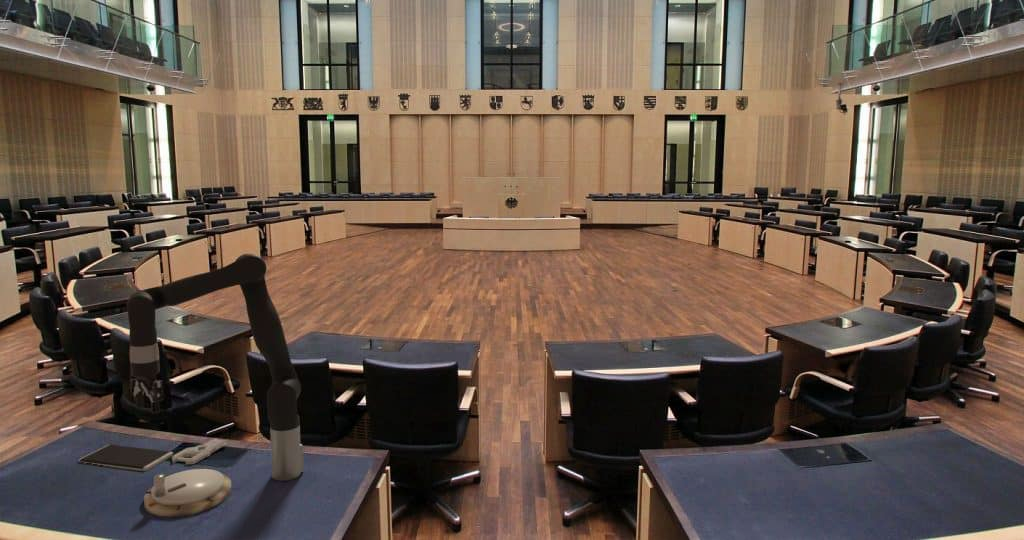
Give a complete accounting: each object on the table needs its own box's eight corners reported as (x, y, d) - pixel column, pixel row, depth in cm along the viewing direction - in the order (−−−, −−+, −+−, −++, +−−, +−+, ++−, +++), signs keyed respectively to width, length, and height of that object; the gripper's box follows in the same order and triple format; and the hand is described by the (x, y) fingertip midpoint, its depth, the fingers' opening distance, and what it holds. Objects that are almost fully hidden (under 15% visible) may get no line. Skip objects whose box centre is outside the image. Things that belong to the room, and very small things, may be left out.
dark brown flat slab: (109, 448, 227) (109, 443, 226) (174, 455, 221) (174, 451, 221) (77, 464, 214) (77, 459, 214) (145, 472, 209) (145, 468, 208)
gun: (208, 433, 232) (229, 438, 228) (209, 442, 232) (230, 447, 229) (166, 456, 215) (189, 461, 211) (167, 465, 215) (189, 470, 212)
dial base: (203, 470, 210) (202, 463, 210) (247, 490, 198) (247, 483, 197) (128, 500, 190) (127, 492, 190) (172, 525, 177) (172, 517, 177)
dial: (203, 467, 207) (201, 446, 206) (237, 486, 196) (236, 463, 195) (139, 491, 191) (137, 468, 190) (172, 512, 180) (170, 488, 179)
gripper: (170, 359, 186) (173, 411, 188) (144, 351, 193) (147, 401, 195) (145, 365, 179) (148, 419, 182) (118, 357, 187) (122, 409, 189)
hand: (147, 410), depth 189 cm, fingers open, 8 cm apart
